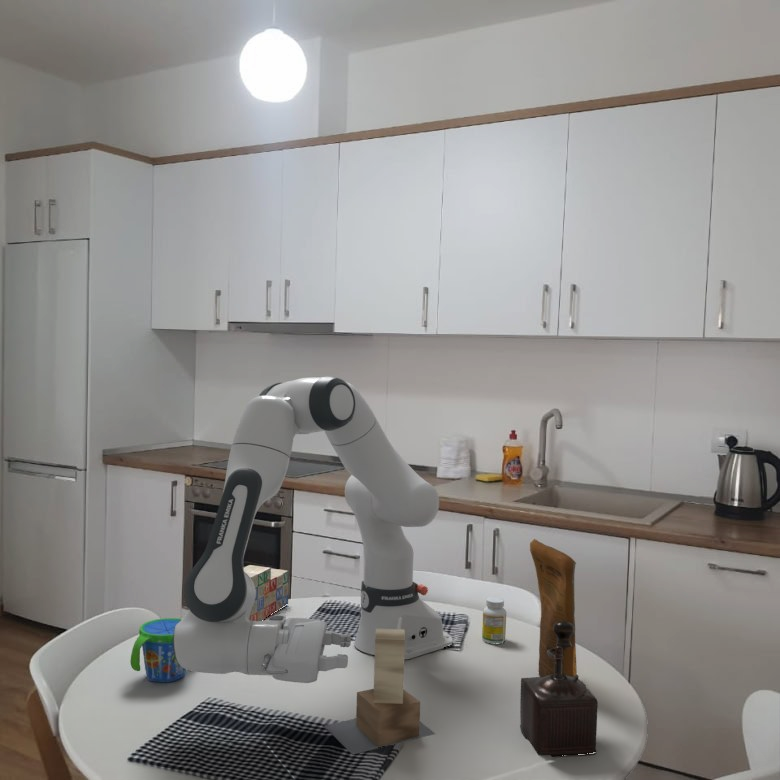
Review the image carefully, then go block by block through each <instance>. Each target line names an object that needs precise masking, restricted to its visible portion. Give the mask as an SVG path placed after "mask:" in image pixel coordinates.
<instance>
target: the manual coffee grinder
mask: <svg viewBox="0 0 780 780" xmlns="http://www.w3.org/2000/svg"><path fill="white" fill-rule="evenodd" d="M553 632H554V633H555V634H556V636H557V638H558V641H557V644H556V646H557V647H556V648H553V649H549V650H547V655H548V656H549V657H551V658H552V659H556V674H552V675H548V676H545V677H540V676H535V677H534V676H533V677H532V676H531V677H522V678H520V701H519V702H520V704H519V705H520V710H519V711H520V712H519V714H520V716H519V717H520V718H519V719H520V724H519V727H520V732H521V734H522V735H523V737H524V739H525V740H527V741H528V742H529V744H531V746H532V748H533V749H534V751H535V752H536V754H537V755H538V756H550V757H552V758H553V757H554V756H559V757H565V756H564V755H578V754H587V753H588V754H589V753H593V752H597V731H598V728H597V727H598V699H597V698H596V697H595V695H594V694H593V693H592V692H591V691H590V689H588V687H587V685H586V683H584V682H583V681H582V680H580V679H579V675H578V674H577V675H576V676H567V675H565V674H564V673H563V674H561V661H562V659H563V655H562V652H563V651H565V649H567V648H568V647H571V646H572V645H571V643H570V637H571V635H572V634H573V633H574V627H573V625H572V624H571V623H570V622H567V621H559V622H557V623H555V624H554V627H553ZM553 653H556V654H553ZM562 755H563V756H562ZM554 758H555V757H554Z"/></svg>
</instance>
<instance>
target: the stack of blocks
mask: <svg viewBox="0 0 780 780" xmlns="http://www.w3.org/2000/svg"><path fill="white" fill-rule="evenodd" d="M243 568H244V572H245V573H247V574H248V575H249V576H250V578H251V579H252V581H253V583H254V586H255V591H256V597H255V602H254V605H253V608H252V612H251V616H250V621H262V620H264V619H265V618H266V617H268V616H269V615H271V614H272V613H274V612H275V611H277V610H279V609H280V608H282V607H283V606H285V605H286V604H288V605H289V590H290V589H289V587H290V585H289V570H285V569H277V568H272V567H268V566H267V567H266V566H260V565H252V564H249V565H247V566H243ZM274 614H275V613H274ZM271 616H272V615H271ZM269 617H270V616H269ZM269 617H268V618H269ZM266 619H267V618H266ZM266 619H265V620H266Z"/></svg>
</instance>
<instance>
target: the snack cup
mask: <svg viewBox="0 0 780 780" xmlns="http://www.w3.org/2000/svg"><path fill="white" fill-rule="evenodd" d="M182 619H183V618H176V617H174V618H173V617H169V618H167V617H166V618H158V619H152V620H148V621H146V622H145V623H142V624H141V625H140V627H139V630H138V632H139V635H138V636H137V638H136V640H135V642H134V644H133V647H132V649H131V654H130V666H131V668H132V670H134V671H135V672H140V671H141V664H140V663H141V662H140V661H141V659H140V658H141V657H140V656H141V648H142V655H143V662H144V669H145V675H146V677H147V679H149V681H150V682H156V683H171V682H175V681H176V680H179V679H181V678H184V677H185V674H186V671H187V669H184V668H183V667H181V666H180V665H179V663H178V662H177V660H176V658H175V655H174V650H173V634H174V629H175V626H176V625H177V624H178V623H179V622H180V621H181V620H182Z"/></svg>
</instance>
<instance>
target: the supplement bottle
mask: <svg viewBox="0 0 780 780" xmlns="http://www.w3.org/2000/svg"><path fill="white" fill-rule="evenodd" d="M504 604H505V600H504V599H503V598H501V597H496V596H495V597H494V596H493V597H491V596H490V597H487V598H486V606H485V607H484V608H483V612H482V631H481V635H482V636H481V639H482V642H484V641H485V642H484V643H486V642H487V643H486V644H489V643H495V644H494V645H497V644H496V643H502V642H504V641H505V642H506V633H507V629H506V627H507V610H506V609H505V608H504V606H505V605H504ZM505 642H504V643H505ZM502 644H503V643H502Z"/></svg>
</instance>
